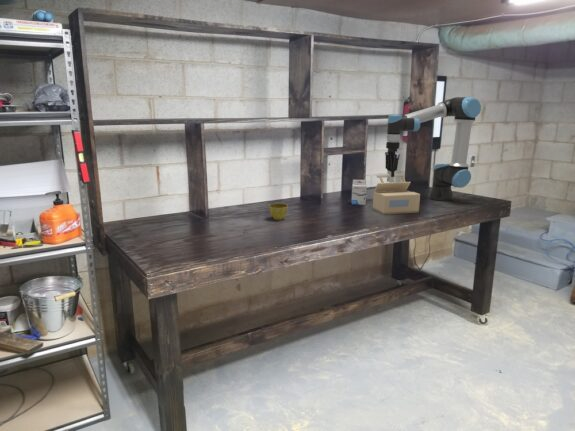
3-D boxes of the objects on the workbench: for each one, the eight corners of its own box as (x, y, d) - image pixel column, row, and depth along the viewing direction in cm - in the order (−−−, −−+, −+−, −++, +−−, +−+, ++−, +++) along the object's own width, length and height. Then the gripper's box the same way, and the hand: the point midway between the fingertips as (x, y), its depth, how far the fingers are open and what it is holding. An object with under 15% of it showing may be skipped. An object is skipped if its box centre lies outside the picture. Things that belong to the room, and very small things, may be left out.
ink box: (351, 204, 271) (352, 180, 267) (351, 202, 275) (352, 179, 272) (365, 205, 270) (366, 181, 266) (365, 203, 275) (366, 179, 271)
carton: (406, 207, 266) (407, 189, 263) (418, 212, 253) (420, 194, 250) (372, 208, 260) (373, 191, 258) (383, 214, 247) (385, 195, 244)
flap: (406, 190, 264) (401, 181, 268) (411, 181, 258) (406, 172, 262) (374, 191, 258) (370, 182, 263) (378, 183, 252) (374, 173, 257)
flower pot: (268, 220, 231) (268, 207, 229) (269, 216, 240) (269, 203, 239) (287, 221, 231) (287, 207, 229) (287, 216, 240) (287, 203, 239)
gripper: (381, 140, 261) (378, 179, 267) (393, 142, 247) (390, 184, 253) (392, 140, 263) (389, 179, 269) (405, 142, 249) (402, 183, 255)
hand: (390, 181), depth 261 cm, fingers closed on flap, 2 cm apart
